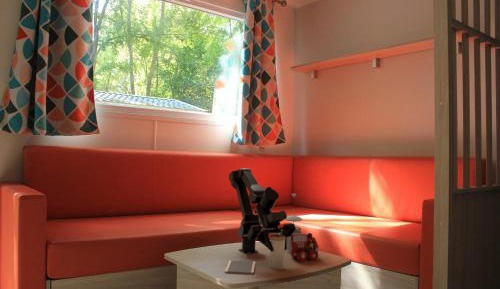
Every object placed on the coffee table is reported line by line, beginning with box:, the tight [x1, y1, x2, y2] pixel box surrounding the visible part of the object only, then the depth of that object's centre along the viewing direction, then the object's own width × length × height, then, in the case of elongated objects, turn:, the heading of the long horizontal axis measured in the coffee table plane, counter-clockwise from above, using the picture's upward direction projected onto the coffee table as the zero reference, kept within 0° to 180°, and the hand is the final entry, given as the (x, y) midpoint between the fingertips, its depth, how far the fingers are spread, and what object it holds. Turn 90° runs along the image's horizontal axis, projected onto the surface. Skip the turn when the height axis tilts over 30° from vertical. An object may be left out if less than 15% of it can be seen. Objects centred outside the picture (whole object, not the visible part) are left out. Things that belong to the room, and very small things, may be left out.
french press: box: [284, 193, 303, 254], centre depth 189 cm, size 10×12×25 cm
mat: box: [224, 259, 256, 275], centre depth 159 cm, size 15×10×1 cm, turn 176°
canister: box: [269, 234, 286, 270], centre depth 161 cm, size 6×6×12 cm
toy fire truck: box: [290, 232, 319, 262], centre depth 175 cm, size 7×12×10 cm, turn 113°
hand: (279, 250), depth 160 cm, fingers closed on canister, 5 cm apart
